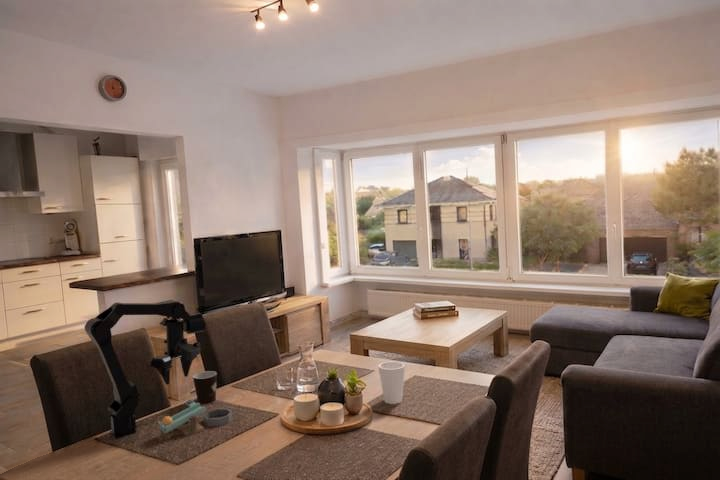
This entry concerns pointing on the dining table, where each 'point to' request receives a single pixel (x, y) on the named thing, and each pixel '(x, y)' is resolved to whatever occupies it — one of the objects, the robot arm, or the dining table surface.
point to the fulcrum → (184, 429)
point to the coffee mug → (205, 386)
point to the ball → (167, 421)
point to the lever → (183, 415)
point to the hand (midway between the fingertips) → (177, 380)
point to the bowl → (217, 417)
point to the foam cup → (392, 381)
